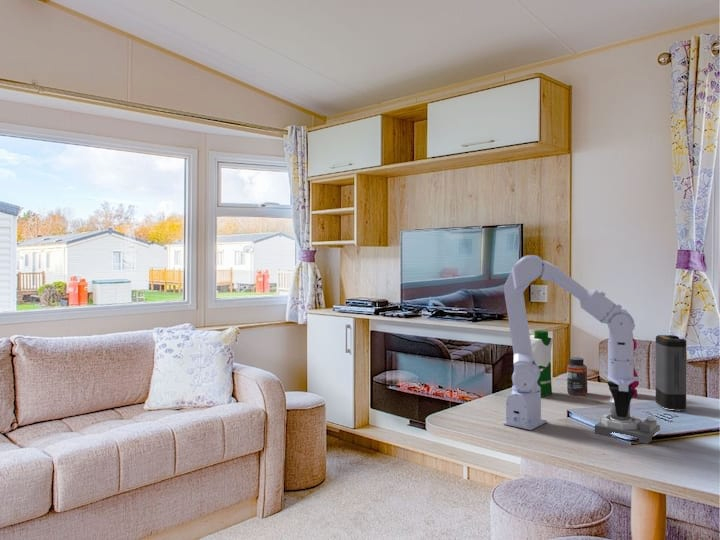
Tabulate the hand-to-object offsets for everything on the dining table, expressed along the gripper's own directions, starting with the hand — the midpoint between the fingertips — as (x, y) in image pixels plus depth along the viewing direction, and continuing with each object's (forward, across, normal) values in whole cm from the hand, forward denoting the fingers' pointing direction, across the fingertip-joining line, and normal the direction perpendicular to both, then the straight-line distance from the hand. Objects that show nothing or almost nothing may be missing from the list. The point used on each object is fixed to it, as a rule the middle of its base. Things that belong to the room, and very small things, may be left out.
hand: (620, 413), depth 137 cm
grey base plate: (+5, -1, -1) cm, 5 cm away
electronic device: (+5, +28, -15) cm, 32 cm away
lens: (+2, 0, 0) cm, 2 cm away
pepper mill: (+5, +39, -5) cm, 40 cm away
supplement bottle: (+5, +37, +9) cm, 38 cm away
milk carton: (+5, +33, +22) cm, 40 cm away
